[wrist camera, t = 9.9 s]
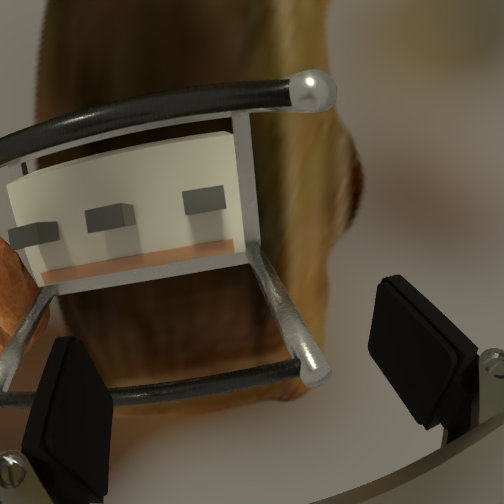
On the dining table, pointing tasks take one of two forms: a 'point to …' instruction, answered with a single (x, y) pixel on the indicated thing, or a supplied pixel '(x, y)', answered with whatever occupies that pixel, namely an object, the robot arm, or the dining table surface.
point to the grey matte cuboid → (204, 200)
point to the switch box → (144, 203)
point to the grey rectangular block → (33, 234)
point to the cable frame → (282, 308)
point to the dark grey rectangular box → (109, 217)
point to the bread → (16, 296)
